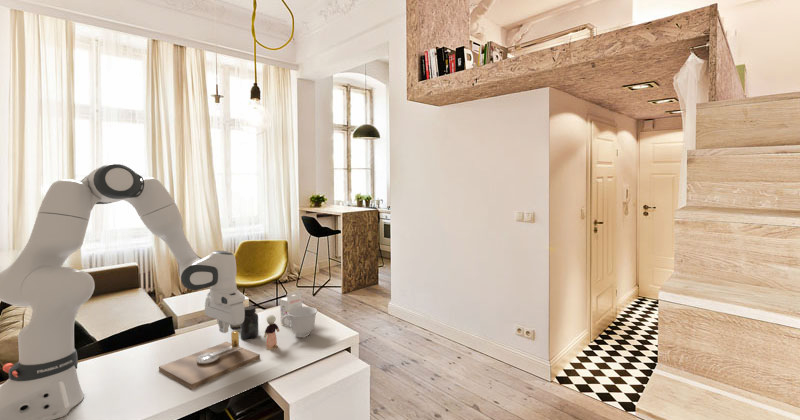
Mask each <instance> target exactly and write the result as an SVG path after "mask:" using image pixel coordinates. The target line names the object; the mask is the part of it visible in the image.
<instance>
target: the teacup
mask: <svg viewBox="0 0 800 420" xmlns="http://www.w3.org/2000/svg"><path fill="white" fill-rule="evenodd" d="M317 313H318V309H317V308H315V307H312V306H302V307H297V308H293V309H291V310H289V311H288V312H287V314H288V315H289V316H288V315H284V316H283V317H282V324H283V325H282V326H284V327H287V328H290V329H291V331H292V332H293V333H294V334H295V336H297V338H307V337H309V336H310V335H309V334H311V333H310V332H312V331H313V330H314V328H315V322H316V314H317ZM285 318H287V319H288V320H290V324H291V326H290V325H288V324H285V323H284V319H285ZM308 335H309V336H308ZM306 336H307V337H306Z"/></svg>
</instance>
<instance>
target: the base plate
mask: <svg viewBox="0 0 800 420" xmlns="http://www.w3.org/2000/svg"><path fill="white" fill-rule="evenodd" d="M230 346H232V342H229V341H224V342H222V343H219V344H217V345H214V346H212V347H208V348H206V349H203V350H200V351H198V352H195V353H192V354H190V355H187V356H185V357H182V358H179V359H176V360H174V361H171V362H168V363H165V364H163V365H159V366H158V371H159V372H160V373H162V374H163V375H165V376H166V377H169V378H171V379H172V380H175V381H176V382H178V383H180V384H181V385H184V386H185V387H187V388H188V389H190V390H193V389H195V388H197V387H200V386H202V385H204V384H206V383H209V382H211V381H213V380H215V379H218V378H220V377H222V376H224V375H227V374H229V373H231V372H234V371H235V370H238V369H240V368H242V367H244V366H247V365H249V364H251V363H254V362H255V361H259V360H260V359H261V354H260V353H258V352H254V351H252V350H249V349H246V348H243V347H242V346H239V348H237V349H235V350H232V351H230V352H227V353H224V354H222V355H219V360H217V361H216V362H214V363H211V364H205V365H201V364H197V363H196V358H197V357H198V356H200V355H202V354H205V353H210V352H217V351H219V350H222V349H225V348H227V347H230Z"/></svg>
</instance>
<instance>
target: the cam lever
mask: <svg viewBox="0 0 800 420" xmlns="http://www.w3.org/2000/svg"><path fill="white" fill-rule="evenodd" d="M239 333H240V331H239V330H235V331H231V339H230V340H231V344H232V346H230V347H227V348H225V349H222V350H219V351H217V352H210V353H205V354H202V355H200V356H198V357H197V358H196V363H197V364H201V365H205V364H211V363H214V362H216V361H217V360H219V355H222V354H224V353H227V352H230V351H232V350H235V349H237V348H239V347H240V341H239V340H240V336H239V335H240V334H239Z"/></svg>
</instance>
